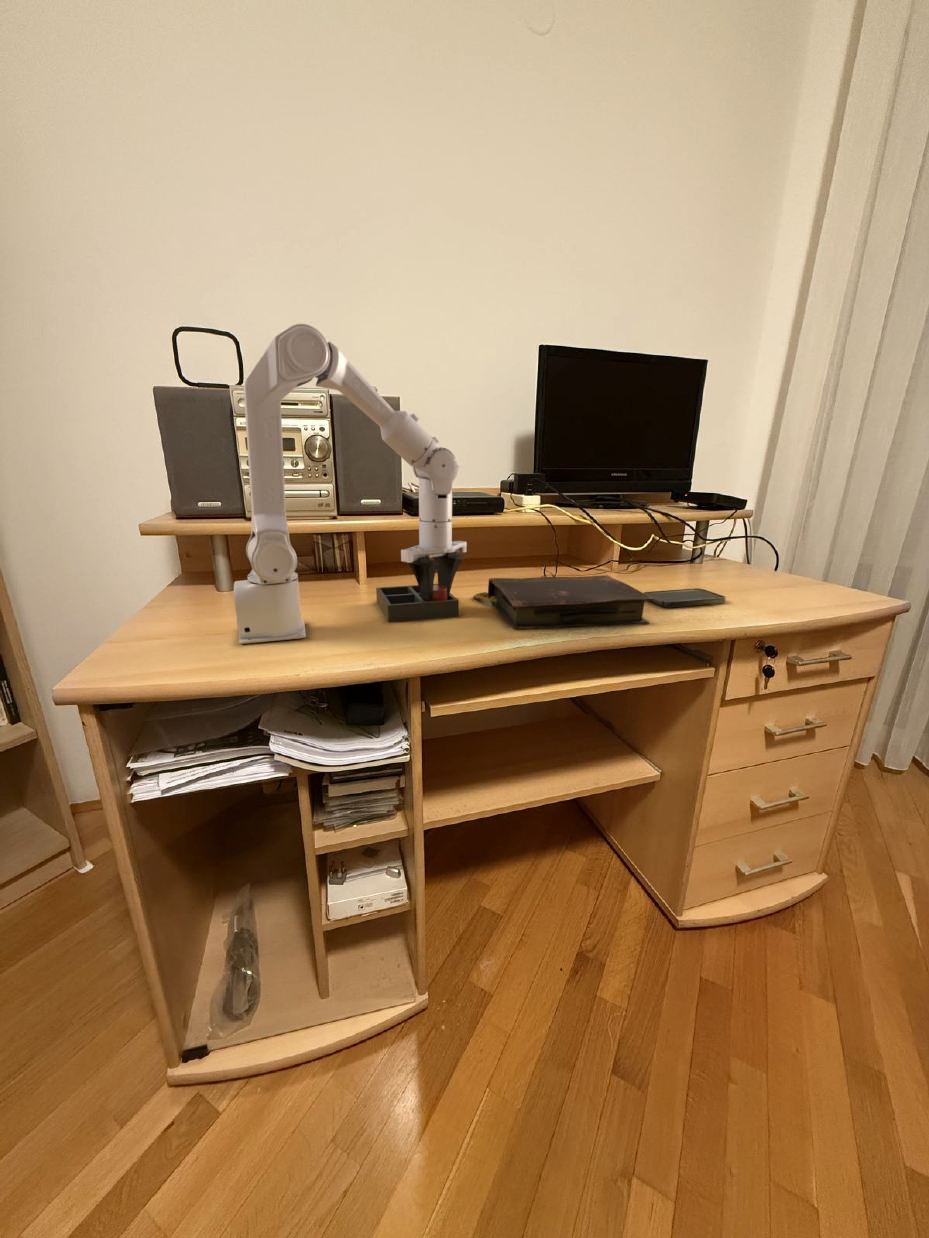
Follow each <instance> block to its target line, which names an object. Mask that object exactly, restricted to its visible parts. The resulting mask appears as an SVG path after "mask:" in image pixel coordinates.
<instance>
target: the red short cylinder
mask: <svg viewBox="0 0 929 1238" xmlns="http://www.w3.org/2000/svg"><path fill="white" fill-rule="evenodd" d="M441 600H447V587H446V586H442V585H433V597H432V599H431V600H428V599H425V602H428V601H441Z"/></svg>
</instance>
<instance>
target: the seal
mask: <svg viewBox="0 0 929 1238" xmlns="http://www.w3.org/2000/svg"><path fill="white" fill-rule="evenodd" d="M473 600H474V601H476V602H479V603H480V604H482V605H485V606H490V607H493V608H495V607H494V606H493V605H492V603H491V601H492V602H497V599H496V598H495V596H491V598H490V599H489V598H488V591H487V592H486V591H484V592H479V593H476V594H474V595H473Z"/></svg>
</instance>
